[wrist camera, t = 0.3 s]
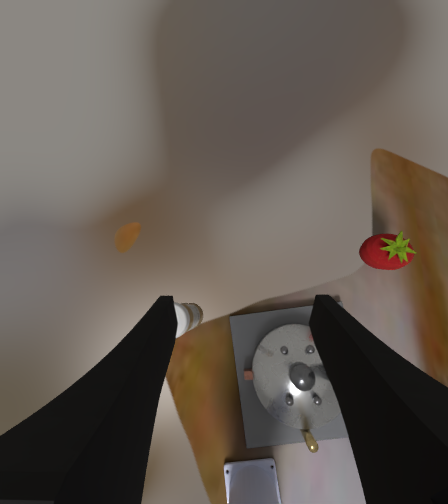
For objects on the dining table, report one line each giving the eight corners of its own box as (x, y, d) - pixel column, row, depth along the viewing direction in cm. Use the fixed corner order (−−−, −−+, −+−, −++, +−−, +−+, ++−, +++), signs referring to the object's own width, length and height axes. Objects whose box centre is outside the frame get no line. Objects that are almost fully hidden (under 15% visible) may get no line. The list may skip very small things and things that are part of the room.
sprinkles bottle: (180, 303, 41) (152, 302, 28) (204, 303, 41) (187, 302, 28) (179, 328, 40) (149, 340, 27) (203, 328, 40) (185, 340, 27)
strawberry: (346, 241, 42) (378, 222, 32) (387, 245, 41) (433, 227, 31) (346, 271, 40) (379, 261, 30) (389, 276, 39) (437, 267, 30)
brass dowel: (310, 435, 34) (319, 452, 30) (301, 436, 34) (309, 453, 30) (308, 424, 34) (317, 440, 30) (299, 425, 34) (306, 441, 30)
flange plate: (263, 439, 34) (267, 461, 29) (233, 341, 37) (232, 346, 33) (361, 407, 34) (381, 424, 29) (321, 312, 38) (334, 313, 33)
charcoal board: (372, 430, 34) (376, 434, 33) (246, 444, 35) (246, 448, 34) (339, 301, 39) (341, 301, 38) (229, 316, 40) (229, 316, 39)
